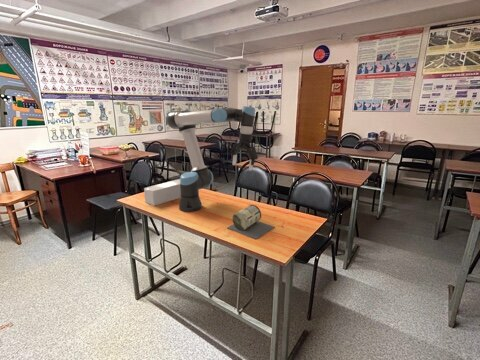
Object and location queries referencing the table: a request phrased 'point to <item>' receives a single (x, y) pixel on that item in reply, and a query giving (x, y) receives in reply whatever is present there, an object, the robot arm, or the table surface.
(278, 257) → the table surface
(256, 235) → the rubber mat
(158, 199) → the long grey foam block
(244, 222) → the coffee can
